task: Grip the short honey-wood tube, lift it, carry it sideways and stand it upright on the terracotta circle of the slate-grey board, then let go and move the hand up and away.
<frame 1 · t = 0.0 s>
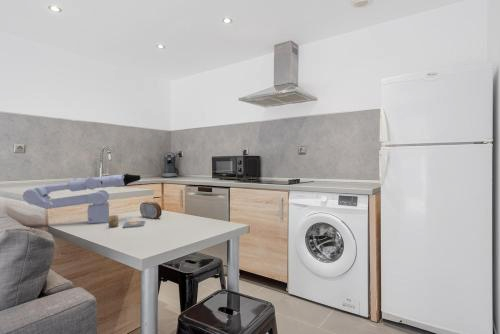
hand: (139, 177, 149), 22 cm above the table, tool horizontal, fingers open, 7 cm apart
target card: (134, 224, 134), on the table
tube: (113, 226, 132), on the table
tin: (150, 218, 151), on the table
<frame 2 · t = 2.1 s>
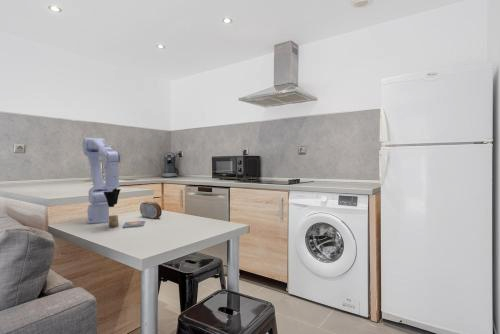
hand: (112, 205, 131), 10 cm above the table, tool pointing down, fingers open, 7 cm apart
nothing on the table moved.
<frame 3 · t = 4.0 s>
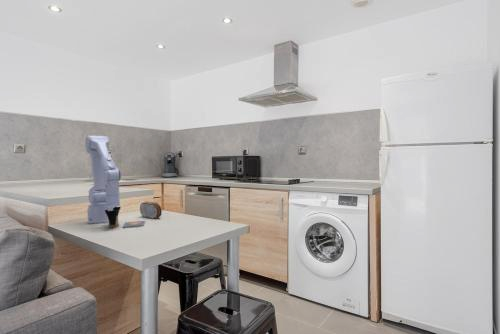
hand: (113, 223, 132), 1 cm above the table, tool pointing down, fingers closed on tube, 4 cm apart
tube: (113, 226, 132), on the table, touching gripper
everything else where it was.
when the fingers open (2 cm above the table, at t = 8.3 s): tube stays where it is, resting on target card.
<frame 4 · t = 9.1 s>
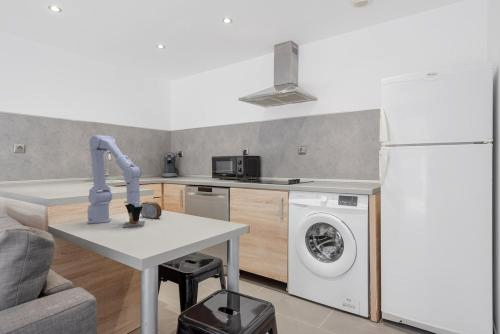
hand: (134, 219, 134), 2 cm above the table, tool pointing down, fingers open, 7 cm apart
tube: (134, 223, 134), point 1 cm above the table, touching target card
everything else where it was.
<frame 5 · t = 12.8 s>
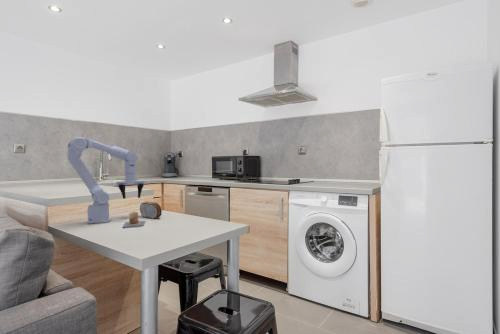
hand: (131, 198, 153), 10 cm above the table, tool pointing down, fingers open, 7 cm apart
nothing on the table moved.
at the end: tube 0.1 cm off-centre on the target card, point 0.8 cm above the target card's base; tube tilted 0°; the gripper is holding nothing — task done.
